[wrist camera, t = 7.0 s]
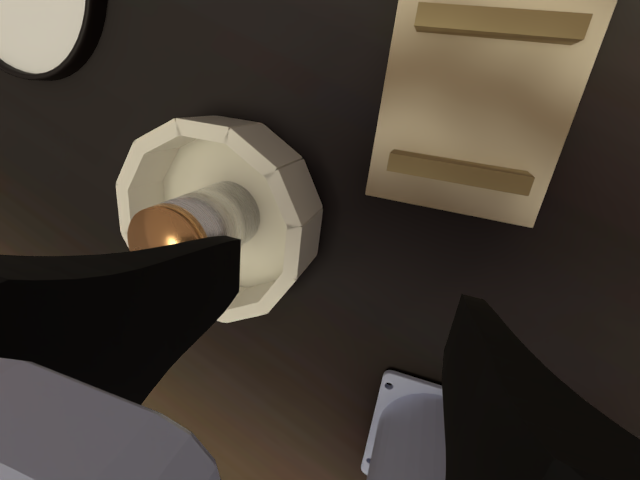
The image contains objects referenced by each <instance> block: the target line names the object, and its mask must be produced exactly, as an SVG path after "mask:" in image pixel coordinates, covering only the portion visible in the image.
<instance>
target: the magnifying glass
mask: <svg viewBox="0 0 640 480" xmlns="http://www.w3.org/2000/svg"><path fill="white" fill-rule="evenodd" d="M107 1H108V0H0V69H1V70H3V71H4V72H6V73H8V74H11V75H13V76H16V77H19V78H23V79H28V80H58V79H62V78H65V77H67V76H70V75H71V74H73V73H75V72H76V71H78V70H79V69H80V68H81V67H82V66H83V65H84V64H85V63H86V62H87V60H88V59H89V58H90V56H91V55H92V53H93V51H94V50H95V48H96V46H97V44H98V41H99V39H100V36H101V33H102V30H103V26H104V22H105V17H106V9H107Z"/></svg>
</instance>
